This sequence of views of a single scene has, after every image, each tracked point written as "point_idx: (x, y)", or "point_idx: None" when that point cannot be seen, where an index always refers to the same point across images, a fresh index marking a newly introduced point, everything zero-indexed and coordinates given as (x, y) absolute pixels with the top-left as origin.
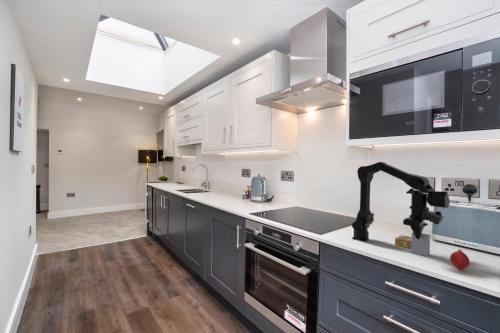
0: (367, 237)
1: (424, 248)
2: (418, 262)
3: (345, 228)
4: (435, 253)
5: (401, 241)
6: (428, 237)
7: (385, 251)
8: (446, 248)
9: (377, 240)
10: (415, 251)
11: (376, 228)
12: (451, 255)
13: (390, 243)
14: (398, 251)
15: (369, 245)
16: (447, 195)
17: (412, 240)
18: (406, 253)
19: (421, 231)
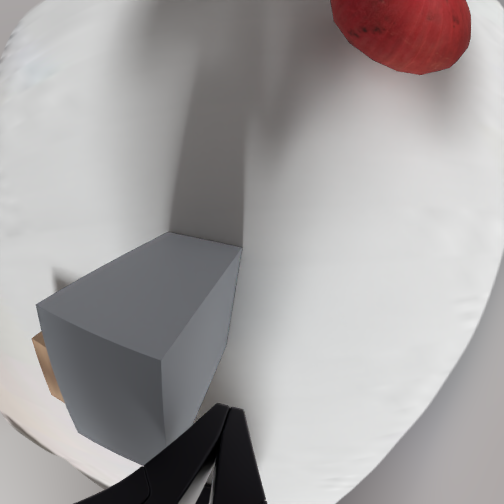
0: (201, 494)
1: (221, 291)
2: (425, 288)
3: None
4: (110, 198)
5: None
6: (110, 318)
7: (317, 441)
8: (8, 168)
9: None
10: (225, 331)
11: (32, 415)
12: (446, 50)
13: None
14: (264, 402)
15: (267, 480)
16: None
17: (196, 412)
18: (271, 368)
19: (186, 494)
